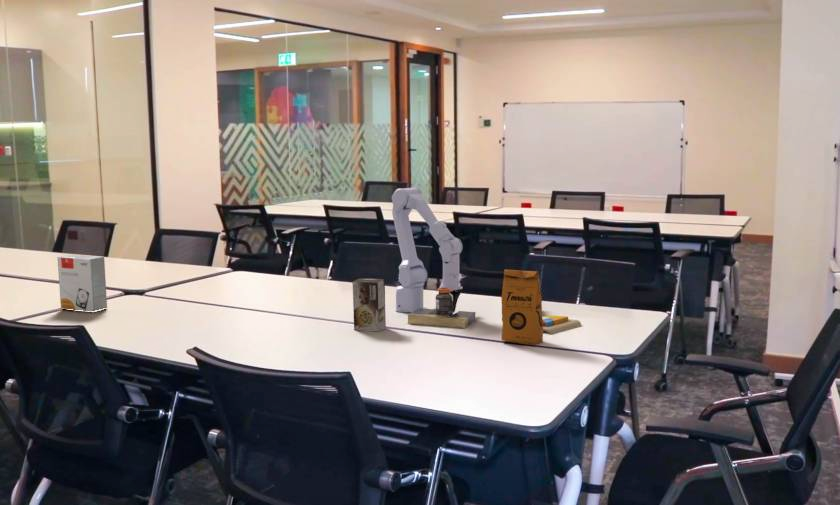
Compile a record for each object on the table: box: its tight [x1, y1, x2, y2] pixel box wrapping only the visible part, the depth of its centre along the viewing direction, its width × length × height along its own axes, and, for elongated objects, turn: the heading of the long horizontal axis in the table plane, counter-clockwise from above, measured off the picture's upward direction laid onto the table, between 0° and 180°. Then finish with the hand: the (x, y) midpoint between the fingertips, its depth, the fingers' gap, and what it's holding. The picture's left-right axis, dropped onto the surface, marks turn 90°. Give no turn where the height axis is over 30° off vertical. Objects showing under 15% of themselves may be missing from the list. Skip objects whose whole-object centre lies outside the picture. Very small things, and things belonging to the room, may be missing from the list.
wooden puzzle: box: [542, 313, 582, 335], centre depth 264 cm, size 18×19×4 cm
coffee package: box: [501, 269, 544, 346], centre depth 241 cm, size 10×12×22 cm
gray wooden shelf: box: [407, 308, 476, 329], centre depth 270 cm, size 20×11×3 cm, turn 69°
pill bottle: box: [435, 287, 454, 316], centre depth 271 cm, size 6×6×11 cm
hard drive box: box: [57, 254, 108, 311], centre depth 294 cm, size 16×8×20 cm, turn 68°
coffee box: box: [351, 278, 387, 332], centre depth 260 cm, size 9×6×16 cm
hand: (451, 312), depth 279 cm, fingers closed
